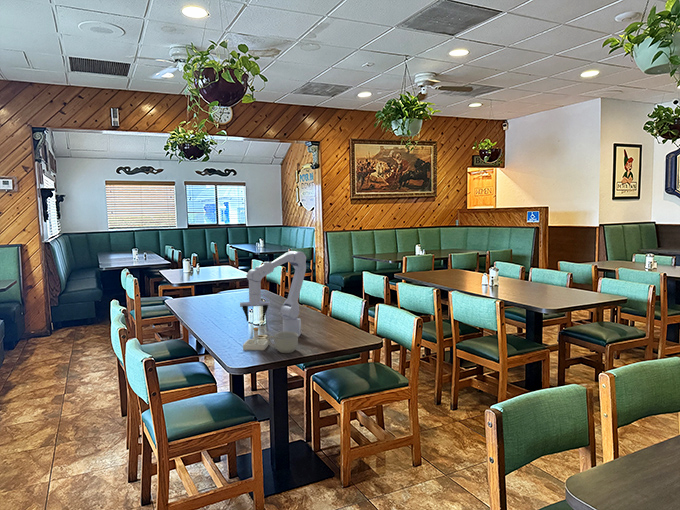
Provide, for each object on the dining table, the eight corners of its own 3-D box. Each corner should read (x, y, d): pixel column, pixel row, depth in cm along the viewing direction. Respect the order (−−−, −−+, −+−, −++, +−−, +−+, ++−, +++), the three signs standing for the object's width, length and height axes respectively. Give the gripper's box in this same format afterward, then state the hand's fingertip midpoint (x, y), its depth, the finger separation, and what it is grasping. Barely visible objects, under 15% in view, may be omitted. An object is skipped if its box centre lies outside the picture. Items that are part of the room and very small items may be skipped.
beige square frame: (267, 340, 232) (267, 335, 232) (265, 344, 226) (264, 338, 226) (255, 340, 233) (255, 334, 233) (252, 344, 227) (252, 337, 227)
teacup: (299, 348, 220) (298, 331, 219) (297, 354, 209) (297, 337, 209) (269, 348, 219) (269, 331, 219) (266, 355, 209) (266, 337, 208)
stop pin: (259, 345, 223) (258, 327, 222) (258, 346, 220) (258, 328, 220) (253, 345, 222) (253, 327, 222) (253, 346, 220) (253, 328, 219)
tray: (268, 344, 226) (268, 339, 226) (264, 350, 216) (264, 345, 216) (248, 344, 226) (248, 339, 226) (243, 350, 216) (242, 344, 216)
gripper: (269, 291, 235) (270, 318, 236) (240, 292, 233) (241, 319, 234) (269, 294, 228) (270, 321, 229) (239, 295, 226) (240, 322, 227)
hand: (255, 320), depth 231 cm, fingers open, 7 cm apart
